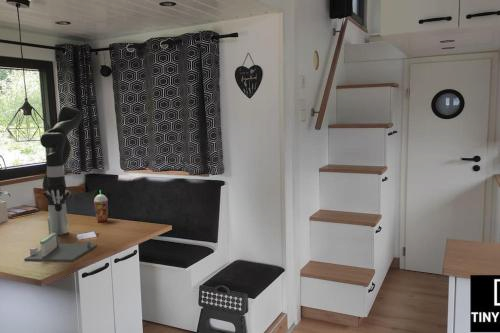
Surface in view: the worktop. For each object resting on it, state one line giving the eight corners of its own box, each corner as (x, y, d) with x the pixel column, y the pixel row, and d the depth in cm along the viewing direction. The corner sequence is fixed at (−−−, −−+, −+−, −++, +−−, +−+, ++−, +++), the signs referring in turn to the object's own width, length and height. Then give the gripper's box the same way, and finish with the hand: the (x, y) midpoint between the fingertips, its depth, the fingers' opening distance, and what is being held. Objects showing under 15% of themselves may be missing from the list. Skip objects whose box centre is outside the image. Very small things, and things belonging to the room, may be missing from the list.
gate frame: (23, 260, 202) (21, 240, 200) (52, 245, 224) (50, 227, 223) (72, 261, 198) (70, 241, 197) (97, 246, 221) (95, 228, 219)
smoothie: (97, 219, 278) (95, 189, 275) (110, 219, 278) (108, 188, 276) (93, 223, 269) (91, 191, 267) (107, 222, 270) (105, 190, 268)
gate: (53, 247, 217) (52, 233, 216) (57, 246, 217) (56, 232, 216) (41, 256, 202) (40, 241, 201) (45, 256, 202) (44, 241, 201)
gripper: (73, 173, 208) (75, 209, 210) (45, 174, 208) (48, 209, 210) (66, 176, 201) (69, 212, 203) (38, 176, 200) (41, 213, 203)
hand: (58, 211), depth 207 cm, fingers closed
